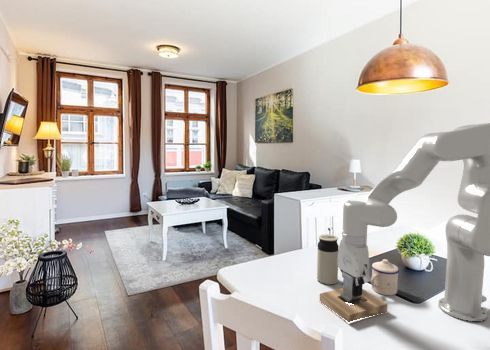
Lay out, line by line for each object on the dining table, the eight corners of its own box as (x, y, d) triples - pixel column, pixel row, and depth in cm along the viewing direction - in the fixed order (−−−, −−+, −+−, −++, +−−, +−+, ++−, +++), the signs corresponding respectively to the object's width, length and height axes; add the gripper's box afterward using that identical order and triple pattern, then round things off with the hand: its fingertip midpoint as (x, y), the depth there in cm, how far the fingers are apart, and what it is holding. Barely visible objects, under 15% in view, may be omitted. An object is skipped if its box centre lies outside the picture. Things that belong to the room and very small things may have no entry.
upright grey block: (354, 293, 99) (355, 268, 98) (363, 299, 95) (364, 273, 95) (340, 297, 97) (341, 271, 96) (349, 303, 93) (350, 276, 92)
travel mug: (338, 285, 111) (339, 240, 109) (317, 284, 113) (318, 239, 111) (336, 276, 119) (337, 234, 117) (316, 275, 120) (317, 233, 119)
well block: (355, 292, 106) (355, 284, 106) (387, 312, 93) (387, 303, 93) (319, 301, 100) (319, 293, 99) (348, 324, 87) (348, 315, 87)
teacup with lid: (380, 282, 114) (382, 253, 113) (403, 292, 106) (404, 261, 105) (360, 289, 108) (361, 259, 107) (382, 300, 100) (383, 268, 99)
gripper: (328, 233, 100) (326, 283, 102) (365, 249, 85) (363, 307, 87) (345, 230, 103) (343, 279, 105) (384, 245, 88) (381, 302, 90)
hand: (352, 291), depth 96 cm, fingers closed on upright grey block, 4 cm apart
